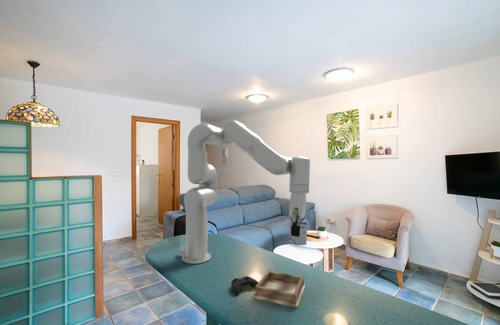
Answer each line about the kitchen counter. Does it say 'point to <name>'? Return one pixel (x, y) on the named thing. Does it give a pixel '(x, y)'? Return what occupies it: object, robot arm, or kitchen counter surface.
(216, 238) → the kitchen counter surface
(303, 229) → the medicine box
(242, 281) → the gaming controller
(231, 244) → the kitchen counter surface
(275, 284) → the wooden tray
